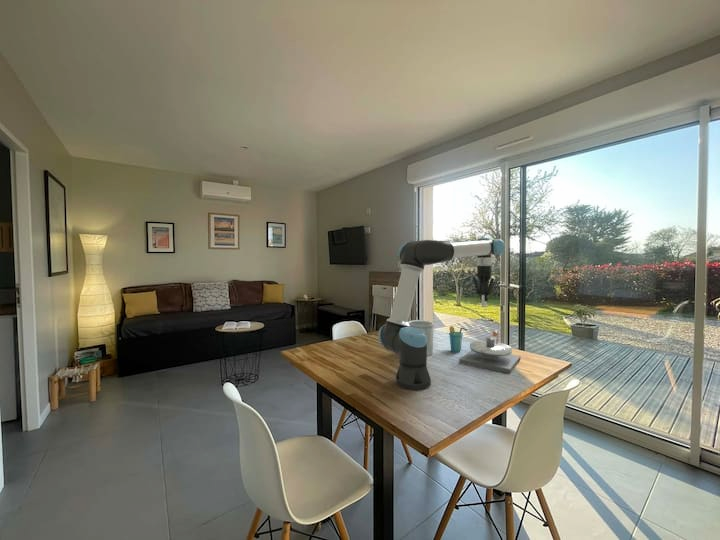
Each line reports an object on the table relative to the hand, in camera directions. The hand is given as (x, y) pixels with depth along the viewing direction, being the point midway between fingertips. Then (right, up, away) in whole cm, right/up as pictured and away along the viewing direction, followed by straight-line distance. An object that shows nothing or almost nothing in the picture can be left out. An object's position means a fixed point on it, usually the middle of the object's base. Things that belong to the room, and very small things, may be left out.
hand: (484, 306), depth 172 cm
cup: (-14, -27, +3) cm, 30 cm away
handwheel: (-2, -21, -14) cm, 25 cm away
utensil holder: (-35, -27, +2) cm, 45 cm away
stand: (-2, -27, -14) cm, 30 cm away
